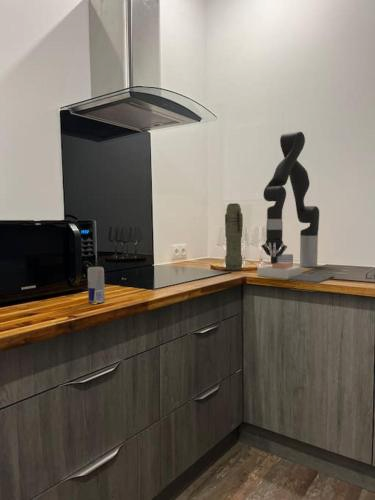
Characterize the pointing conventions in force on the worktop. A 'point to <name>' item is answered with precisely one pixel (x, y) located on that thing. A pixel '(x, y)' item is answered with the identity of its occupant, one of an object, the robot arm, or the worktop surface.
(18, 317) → the worktop surface
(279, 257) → the medicine box
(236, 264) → the thermos
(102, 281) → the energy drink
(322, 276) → the mat
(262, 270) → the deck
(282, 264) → the tile
